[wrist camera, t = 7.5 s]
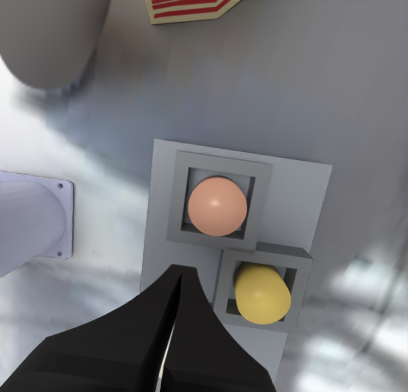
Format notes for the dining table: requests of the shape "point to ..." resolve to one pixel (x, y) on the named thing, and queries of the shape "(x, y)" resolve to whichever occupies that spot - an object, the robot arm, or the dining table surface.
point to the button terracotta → (217, 206)
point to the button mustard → (261, 293)
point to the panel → (236, 232)
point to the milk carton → (186, 10)
